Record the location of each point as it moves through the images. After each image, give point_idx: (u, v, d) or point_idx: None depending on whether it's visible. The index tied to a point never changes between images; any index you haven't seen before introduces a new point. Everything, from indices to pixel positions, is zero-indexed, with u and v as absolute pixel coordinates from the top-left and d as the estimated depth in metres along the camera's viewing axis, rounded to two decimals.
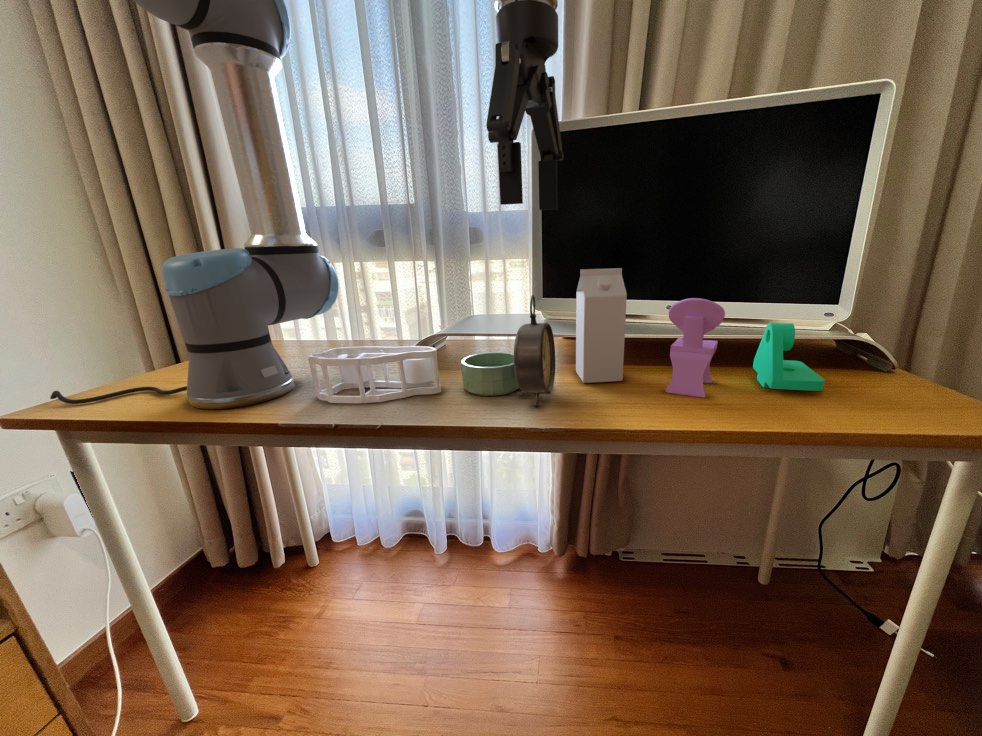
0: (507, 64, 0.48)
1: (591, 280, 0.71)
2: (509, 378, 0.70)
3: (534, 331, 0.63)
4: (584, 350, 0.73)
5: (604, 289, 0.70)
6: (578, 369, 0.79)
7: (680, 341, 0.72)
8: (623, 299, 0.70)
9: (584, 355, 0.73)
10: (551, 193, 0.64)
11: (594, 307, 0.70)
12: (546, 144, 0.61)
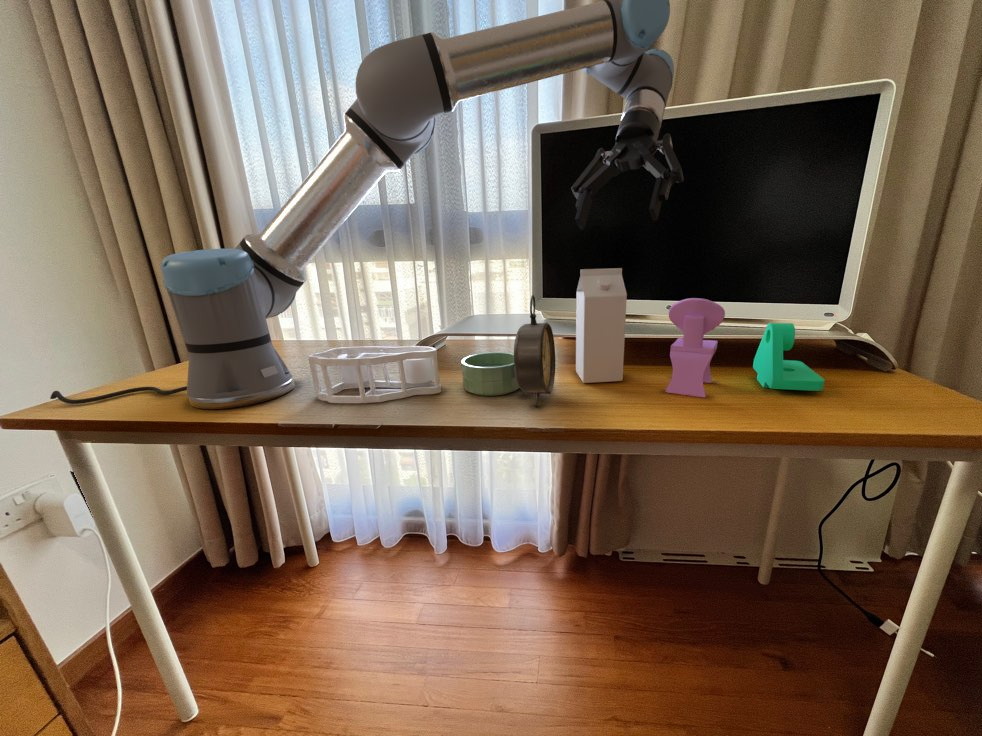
0: None
1: (591, 280, 0.71)
2: (509, 378, 0.70)
3: (534, 331, 0.63)
4: (584, 350, 0.73)
5: (604, 289, 0.70)
6: (578, 369, 0.79)
7: (680, 341, 0.72)
8: (623, 299, 0.70)
9: (584, 355, 0.73)
10: (585, 217, 0.79)
11: (594, 308, 0.70)
12: (595, 187, 0.80)
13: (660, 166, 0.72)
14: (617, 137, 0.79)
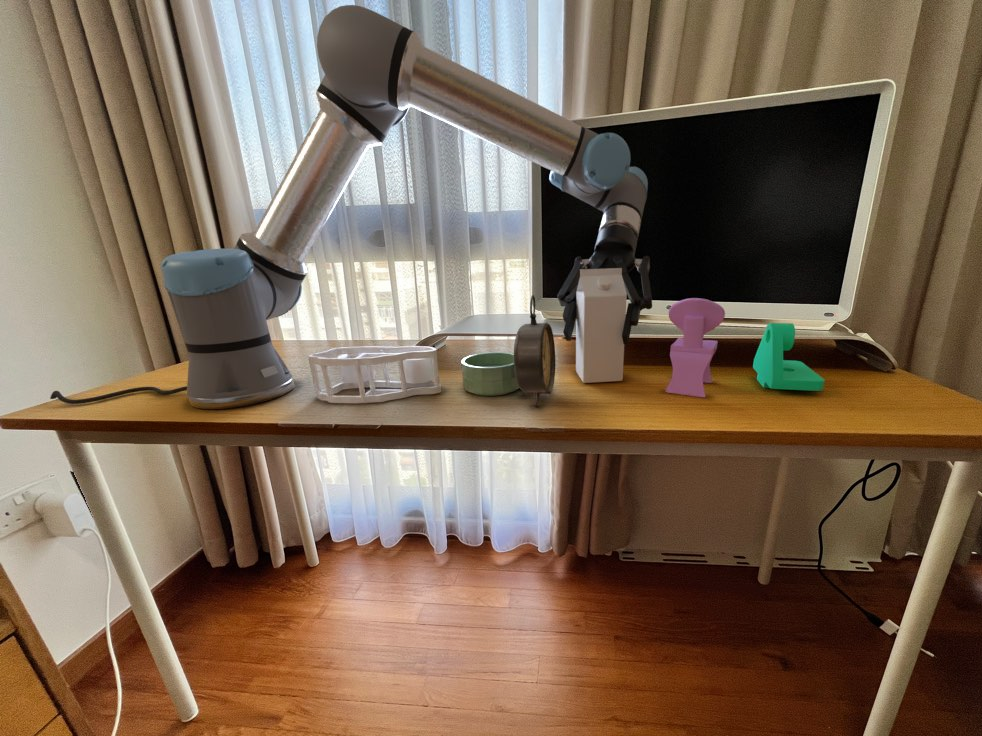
0: None
1: (591, 280, 0.71)
2: (509, 378, 0.70)
3: (534, 331, 0.63)
4: (584, 350, 0.73)
5: (604, 289, 0.70)
6: (578, 369, 0.79)
7: (680, 341, 0.72)
8: (623, 299, 0.70)
9: (584, 355, 0.73)
10: (572, 328, 0.76)
11: (594, 307, 0.70)
12: None
13: (633, 290, 0.74)
14: (596, 246, 0.80)
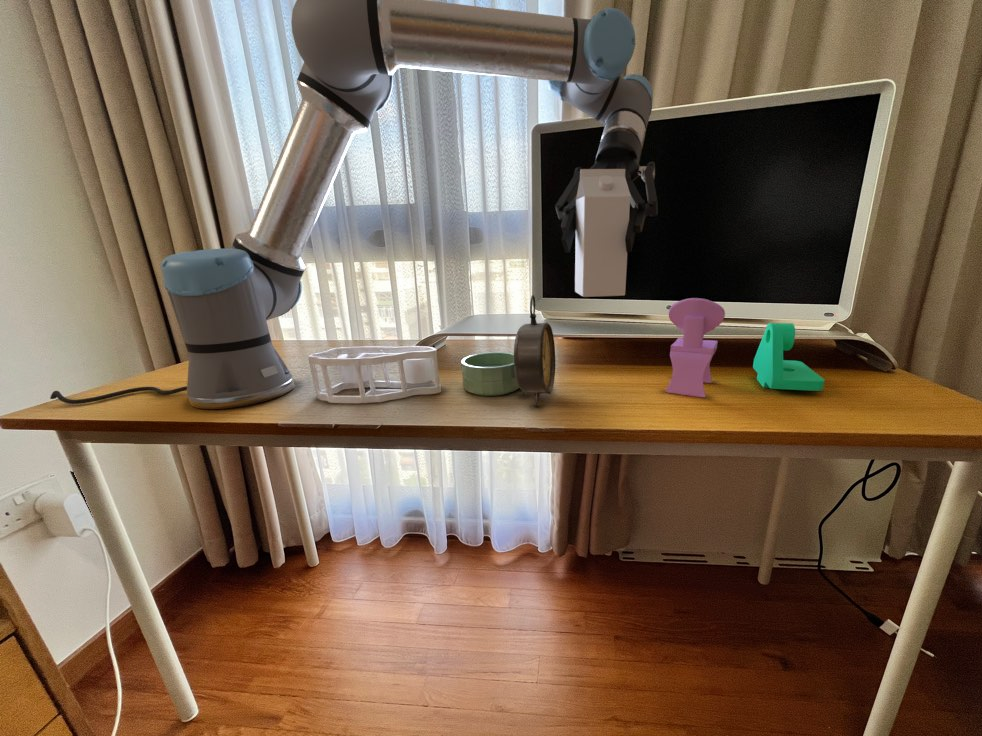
0: None
1: (592, 181, 0.66)
2: (509, 378, 0.70)
3: (534, 331, 0.63)
4: (584, 259, 0.68)
5: (606, 188, 0.65)
6: (577, 286, 0.73)
7: (680, 341, 0.72)
8: (627, 201, 0.65)
9: (584, 264, 0.68)
10: (571, 239, 0.71)
11: (594, 209, 0.65)
12: None
13: (637, 195, 0.68)
14: (598, 155, 0.74)
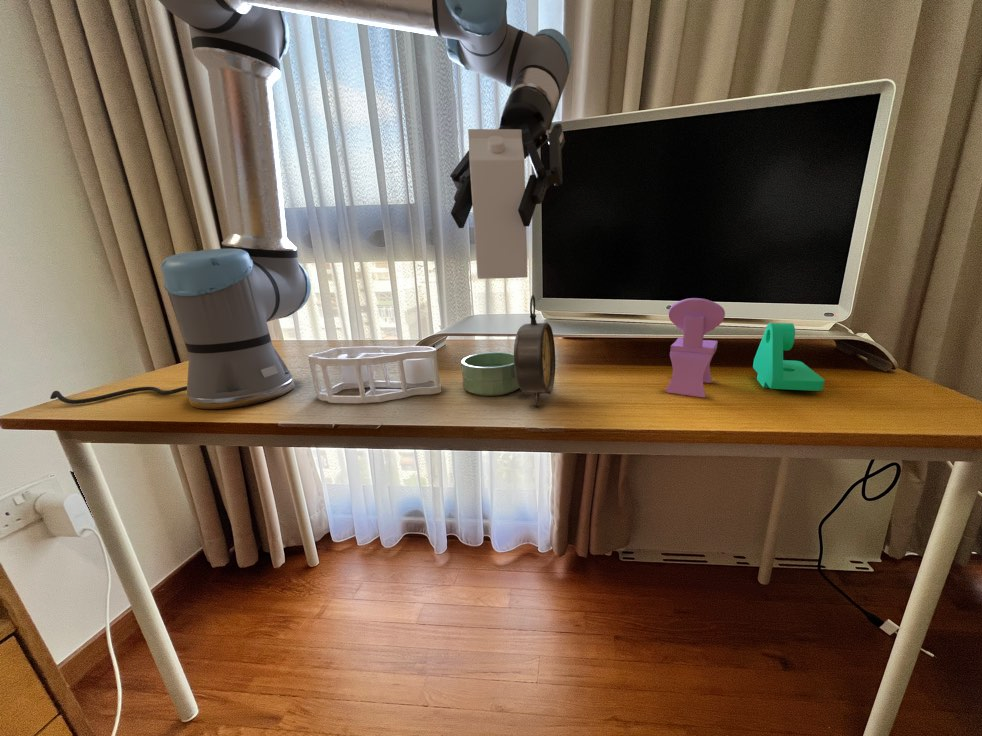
0: (559, 145, 0.62)
1: (481, 143, 0.57)
2: (509, 378, 0.70)
3: (534, 331, 0.63)
4: (475, 234, 0.58)
5: (495, 151, 0.56)
6: None
7: (680, 341, 0.72)
8: (520, 165, 0.56)
9: (476, 241, 0.59)
10: (465, 213, 0.61)
11: (483, 175, 0.56)
12: None
13: (538, 161, 0.59)
14: (502, 119, 0.65)
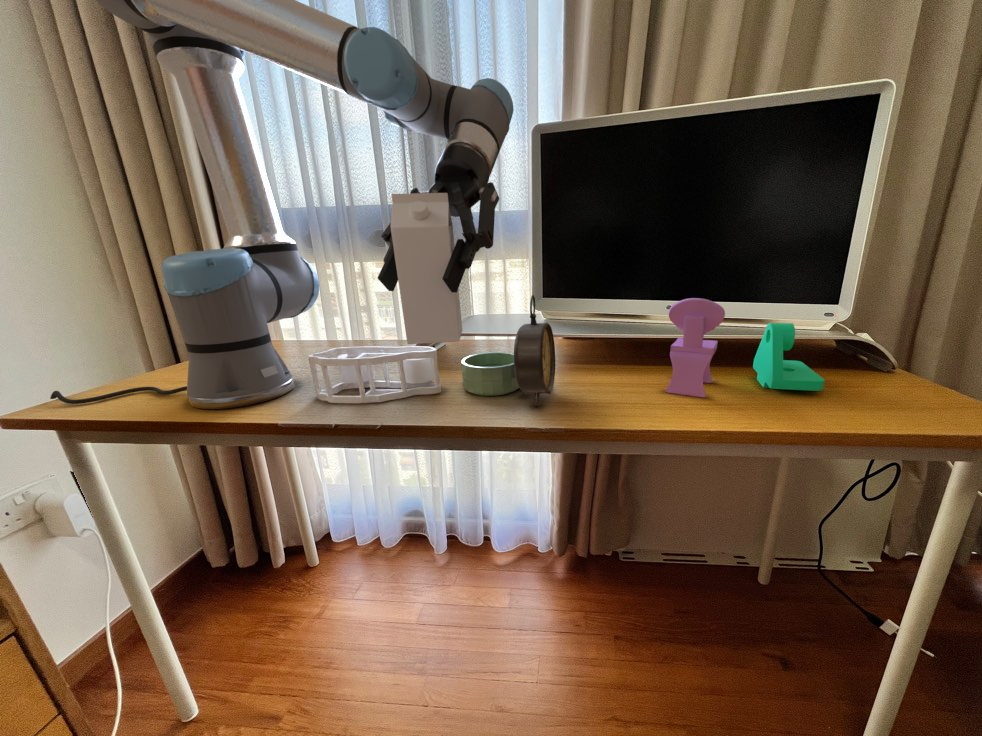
0: (492, 204, 0.60)
1: (405, 208, 0.55)
2: (509, 378, 0.70)
3: (534, 331, 0.63)
4: (402, 300, 0.56)
5: (418, 217, 0.54)
6: None
7: (680, 341, 0.72)
8: (445, 232, 0.54)
9: (403, 307, 0.57)
10: (395, 275, 0.59)
11: (406, 242, 0.54)
12: None
13: (467, 224, 0.57)
14: (436, 174, 0.63)
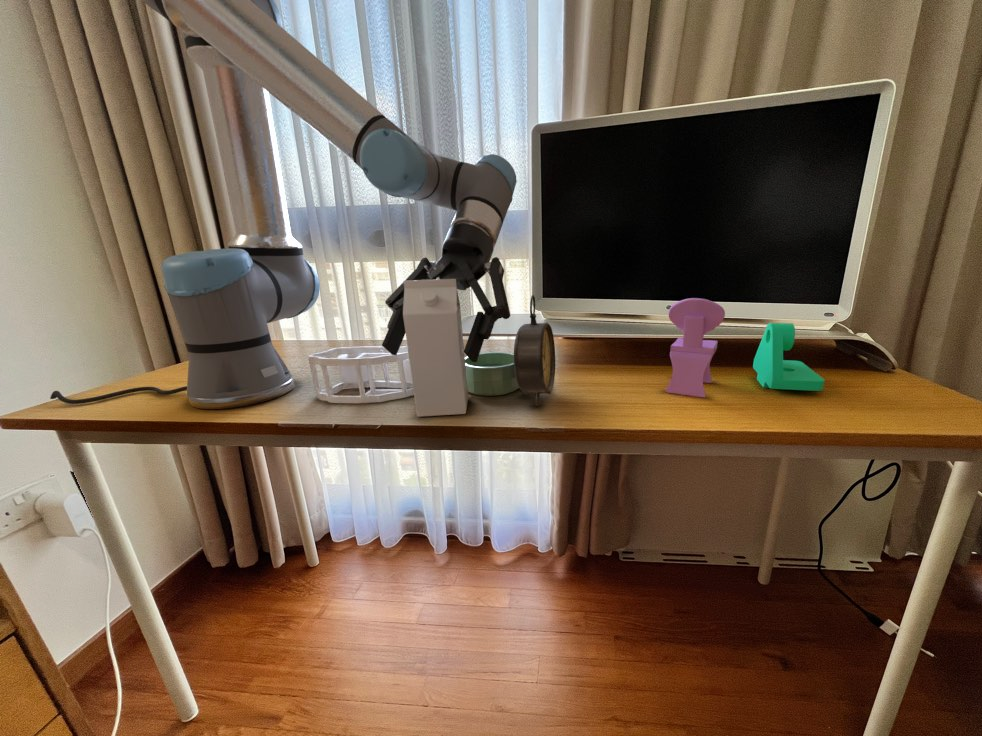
0: (500, 276, 0.64)
1: (416, 294, 0.59)
2: (509, 378, 0.70)
3: (534, 331, 0.63)
4: (412, 378, 0.60)
5: (428, 304, 0.57)
6: None
7: (680, 341, 0.72)
8: (453, 318, 0.58)
9: (413, 384, 0.61)
10: (398, 340, 0.64)
11: (417, 327, 0.58)
12: None
13: (483, 297, 0.61)
14: (444, 249, 0.67)
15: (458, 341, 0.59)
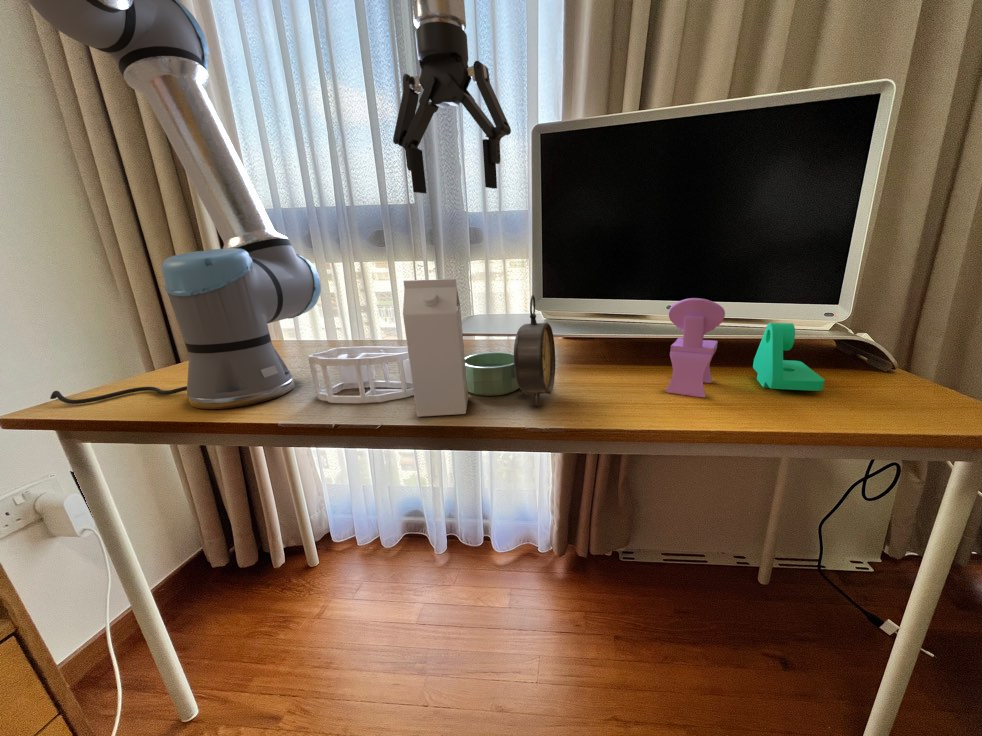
0: (487, 82, 0.64)
1: (416, 294, 0.59)
2: (509, 378, 0.70)
3: (534, 331, 0.63)
4: (412, 378, 0.60)
5: (428, 304, 0.57)
6: None
7: (680, 341, 0.72)
8: (453, 318, 0.58)
9: (413, 384, 0.61)
10: (422, 179, 0.73)
11: (417, 327, 0.58)
12: (418, 135, 0.70)
13: (482, 120, 0.64)
14: None
15: (458, 341, 0.59)
